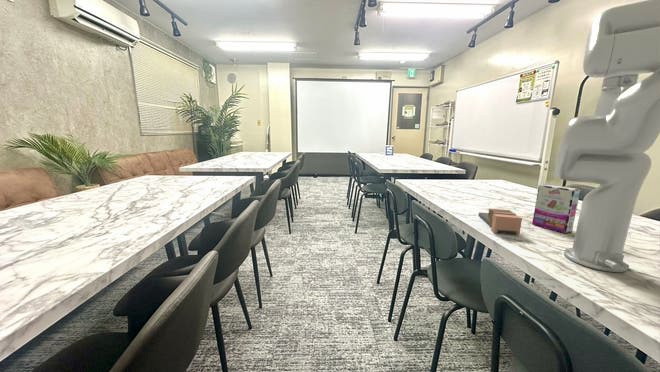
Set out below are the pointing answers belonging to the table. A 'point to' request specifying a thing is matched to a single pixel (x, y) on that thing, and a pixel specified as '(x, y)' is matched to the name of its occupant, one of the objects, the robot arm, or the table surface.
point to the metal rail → (485, 217)
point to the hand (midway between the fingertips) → (605, 142)
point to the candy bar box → (556, 207)
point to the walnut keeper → (498, 211)
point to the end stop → (506, 224)
